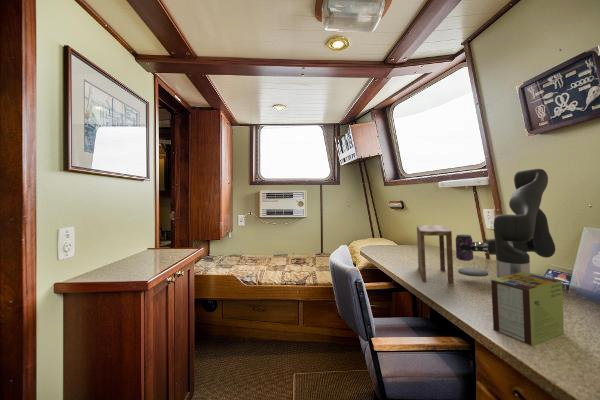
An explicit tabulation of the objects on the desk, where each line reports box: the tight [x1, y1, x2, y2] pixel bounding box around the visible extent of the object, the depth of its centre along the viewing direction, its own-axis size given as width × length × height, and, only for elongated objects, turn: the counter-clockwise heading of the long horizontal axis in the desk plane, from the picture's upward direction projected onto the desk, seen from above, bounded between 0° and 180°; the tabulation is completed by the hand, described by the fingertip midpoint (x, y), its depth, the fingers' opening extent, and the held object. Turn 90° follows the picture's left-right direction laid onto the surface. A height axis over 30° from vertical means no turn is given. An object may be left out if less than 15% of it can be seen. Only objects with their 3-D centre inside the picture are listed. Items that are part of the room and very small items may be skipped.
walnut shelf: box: [416, 224, 455, 285], centre depth 140 cm, size 13×25×24 cm, turn 161°
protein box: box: [490, 272, 565, 347], centre depth 81 cm, size 10×15×16 cm
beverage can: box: [455, 234, 474, 262], centre depth 135 cm, size 7×7×12 cm
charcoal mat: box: [457, 267, 489, 277], centre depth 141 cm, size 13×13×1 cm
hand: (459, 246), depth 135 cm, fingers closed on beverage can, 6 cm apart
